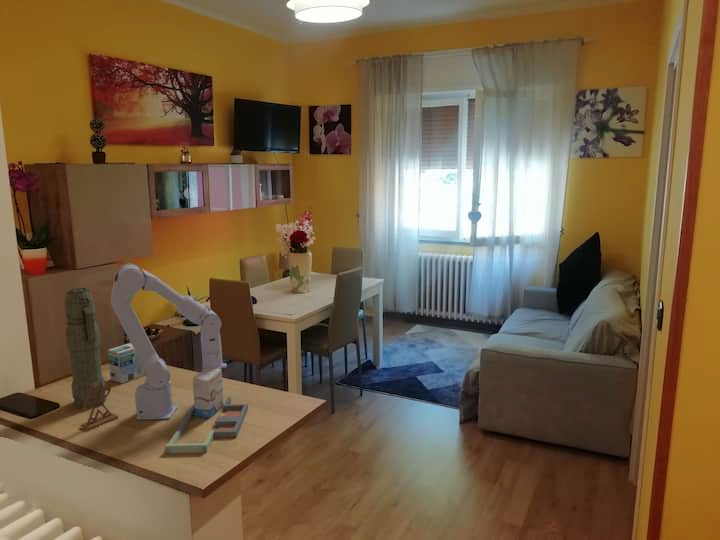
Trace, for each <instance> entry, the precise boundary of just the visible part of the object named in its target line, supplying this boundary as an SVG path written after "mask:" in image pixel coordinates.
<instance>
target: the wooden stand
mask: <svg viewBox="0 0 720 540" xmlns="http://www.w3.org/2000/svg"><path fill="white" fill-rule="evenodd" d="M96 383H99V384H100V386H97V387H93V385H95V384H96ZM92 387H93V388H92ZM100 387H101V389H99V388H100ZM96 388H98V391H96V392H94V391H92V390H96ZM111 389H112V386H111V385H110V384H105V386H104V387H103V385H102V383H100V382H94V383H93V384H92V385H91V386H90V389H89V391H90V393H91V394H92V396H89V397H88V398H87V399H86V400H85V402H84V404H83V408H82V409H83V410H85V411H90V410H91V412H90V414H89V416H88V418H87V421H86V422H84V423H81V424H80V428H81V427H83V428H85V429H87V430H90V431H92V430H91V429H93V430H95V429H97V428H100V427H101V426H100V425H102V426H104V425H106V424H105V423H107V424H109V423H112V422H113V421H115V420H118V418H119V417H118V414H114V412H113V413H112V412H110V410H109V409H108V408H107V407H106V406H105V402H104V401H103V399H104V398H106V399H107V397H108V396H109V394H110V393H111ZM102 390H103V391H102ZM105 391H107V392H105ZM92 392H93V393H96V394H93V393H92ZM104 392H105V396H104V397H102V398H101V402H102V404H99V402H98V400H99V398H98V397H101V395H100V394H102V393H104ZM97 393H98V395H97ZM91 397H94V398H95V399H96V400H97V403H96V404H97V406H95V407H94V402H93V401H92V402H90V403H89V404H86V402H87V401H88V400H89V399H90V398H91ZM91 404H92V407H91ZM87 406H88V407H89V408H85V407H87ZM100 407H103V408H104V409H105V412H104V413H102V411H101V410H100V409H98V408H100ZM91 408H92V409H91ZM95 409H97V411H96V413H95V416H94V417H93V415H94V412H95ZM99 414H100V416H99ZM108 422H109V423H108ZM103 424H104V425H103ZM99 426H100V427H99ZM96 427H97V428H96ZM94 428H95V429H94ZM85 429H84V430H85ZM87 430H86V431H87Z"/></svg>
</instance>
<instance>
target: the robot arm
mask: <svg viewBox="0 0 720 540" xmlns="http://www.w3.org/2000/svg"><path fill="white" fill-rule="evenodd" d="M111 289H112V290H111V295H110V300H109V302H110V306H111V309H112V310H113V312H114V314H115V316H116V317H117V320H118V321H119V323H120V325H121V327H122V328H123V330H124V331H123V332H125V334H126V336H127V337H128V340H129V343H131V344H132V346H133V347H134V349H135V351H136V353H137V355H138V357H139V359H140V361H141V363H142V365H143V371H144V373H145V375H144V376H145V381H144V383H142V384H138V386H137V387H136V389H135V394H134V395H135V396H134V398H135V411H136V417H135V419H136V420H138V421H139V420H140V421H141V420H168V419H171V418H172V416H173V415H174V413H175V412H176V410H177V409H178V407H179V406H178V405H174V404H173V403H174V402H173V393H172V392H173V391H172V380H171V373H170V371H169V369H168V367H167V363H166V362H165V360H164V359H163V358H161V357H160V356H159V355H158V353H157V352H156V350H155V348H154V347H153V344H152V342H151V340H150V339H149V337H148V335H147V332H146V330H145V329H144V327H143V325H142V323H141V321H140V319H139V317H138V315H137V314H136V312H135V310H134V308H133V305H132V304H131V303H132V302H133V299H134V297H135V296H136V294H137V293H139V291H140V290H142V291H143V292H154V293H156V294H157V295H159V296H160V297H162V298H164V299H165V300H167V301H169V303H172V304H173V305H175V308H176V312H177V313H178V314H180V315H181V316H183V317H184V318H186V319H187V320H189V321H190V322H192V324H194V325H198V326H199V327H200V328H199V329H200V346H201V357H202V358H201V359H202V366H201V367H202V368H201V369H202V371H203V370H204V369H206V368H215V369H216V370H217V369H222V375H223V373H224V372H225V370H224V368H225V369H226V368H227V367H228V365H227V363H224V362H223V352H222V351H223V350H222V339H221V336H222V335H221V333H220V331H221V328H222V323H223V322H222V320H221V318H220V317H219V315H218V314H217V313H216V312H214V311H213V309H212V308H210V307H209V306H205V305H204V304H203V303H201V302H200V301H198V300H199V299H198V297H196V296H194V295H193V296H191V295H182V294H180V293H179V292H177V291H176V290H174V289H173V288H172V287H171V286H170V285H168V284H166V283H165V282H164V281H162V279H160V278H159V277H157V276H156V275H154V274H153V273H151V272H149V271H147V270H145V269H143V268H142V269H141V268H140V267H139V266H138V265H137V264H134V263H125V264H123V265H121V266H120V267H119V268H118V270H117V272H116V273H115V275H114V276H113V284H112V288H111ZM214 371H215V370H214ZM214 371H212V372H214ZM212 372H211V373H212ZM208 373H209V372H208ZM208 373H207V374H205V372H204V375H211V373H210V374H208Z"/></svg>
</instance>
